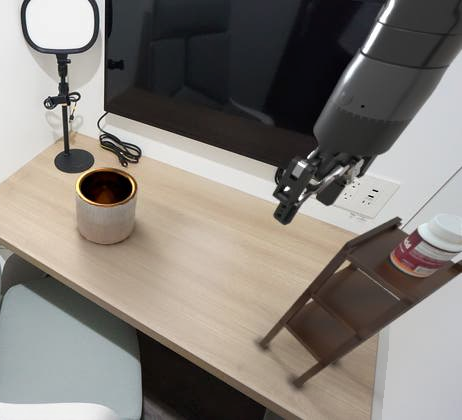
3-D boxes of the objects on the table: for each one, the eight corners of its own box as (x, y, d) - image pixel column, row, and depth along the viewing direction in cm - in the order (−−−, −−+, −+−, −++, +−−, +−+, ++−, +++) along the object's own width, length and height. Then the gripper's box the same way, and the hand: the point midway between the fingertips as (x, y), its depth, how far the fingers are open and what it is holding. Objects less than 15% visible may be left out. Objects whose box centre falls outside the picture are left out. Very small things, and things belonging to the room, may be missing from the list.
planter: (143, 217, 100) (149, 178, 89) (116, 255, 89) (119, 216, 78) (95, 198, 107) (95, 160, 96) (65, 231, 96) (61, 192, 85)
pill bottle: (394, 245, 47) (437, 205, 41) (434, 265, 44) (485, 225, 39) (383, 262, 45) (426, 222, 39) (424, 284, 42) (477, 244, 36)
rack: (336, 361, 68) (476, 262, 43) (296, 388, 64) (424, 296, 39) (296, 321, 74) (397, 216, 49) (258, 343, 71) (346, 241, 46)
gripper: (365, 133, 28) (288, 247, 40) (454, 101, 33) (361, 212, 44) (294, 100, 33) (244, 209, 45) (379, 76, 37) (313, 181, 49)
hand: (302, 211), depth 44 cm, fingers open, 8 cm apart
